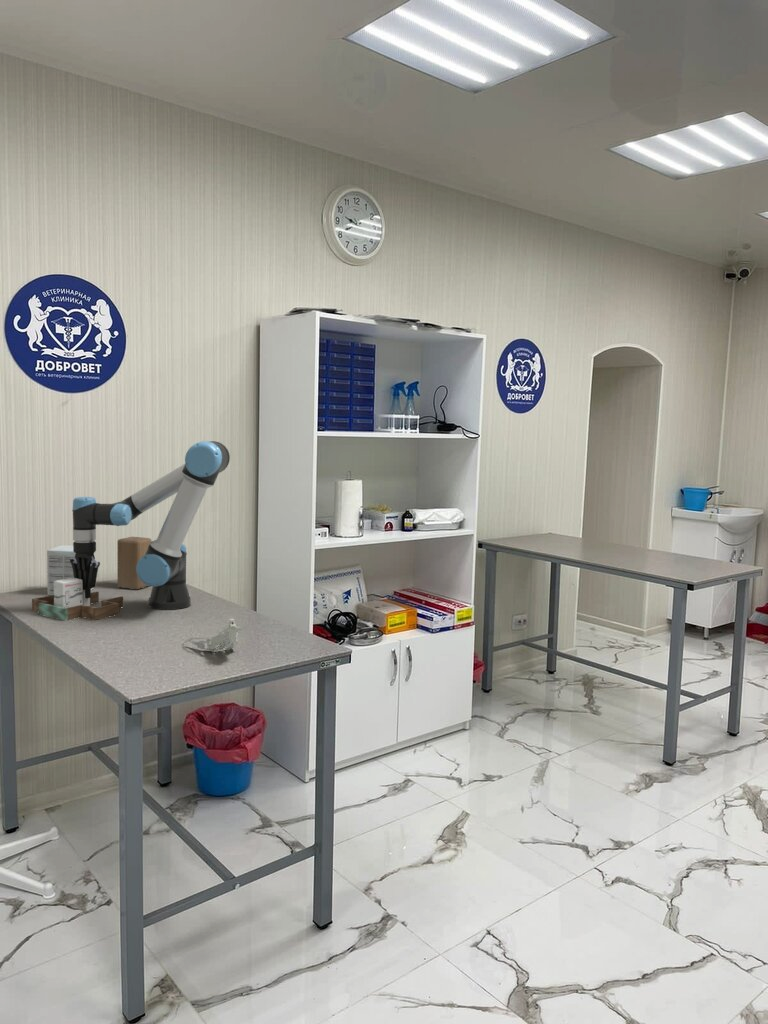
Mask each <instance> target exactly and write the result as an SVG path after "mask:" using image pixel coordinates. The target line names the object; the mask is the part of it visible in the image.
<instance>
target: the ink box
mask: <svg viewBox="0 0 768 1024" xmlns="http://www.w3.org/2000/svg"><path fill="white" fill-rule="evenodd" d="M78 605H83V580H81V579H77V578H68V579H62V580H57V581H55V582H54V606H59V607H63V608H69V607H74V606H78Z"/></svg>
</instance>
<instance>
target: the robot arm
mask: <svg viewBox="0 0 768 1024" xmlns="http://www.w3.org/2000/svg"><path fill="white" fill-rule="evenodd" d="M230 459H231V454H230V452H229V449H228V448H227V447H226V446H225V445H224V444H223V443H222V442H220V441H214V440H213V441H211V440H210V441H209V440H208V441H204V440H203V441H199V442H197V443H194V444H193V445H192V446H190V447H189V448H188V450H187V451H186V454H185V456H184V464H182V465H180V466H178V467H177V468H175V469H173V470H172V471H170V472H169V473H167V474H165V475H164V476H162V477H160V478H157V480H155V481H154V482H151V483H150V484H148V485H146V486H144V487H143V488H141V489H139V490H137V492H135V493H133V494H131V495H130V496H128V497H126V498H125V499H123V500H120V501H117V502H113V503H100V502H97V501H96V498H95V497H94V496H93V497H92V496H78V497H74V499H73V500H72V510H71V511H72V540H73V542H72V546H73V551H74V552H75V553H76V554H75V558H74V559H70V562H71V565H72V569H73V574H74V578H77V579H81V580H83V605H86V606H90V607H91V604H90V597H91V593H92V590H91V588H93V589H94V588H95V587H96V583H97V578H98V571H99V567H100V565H101V563H100V562H101V561H97V560H96V557H95V553H96V551H97V542H96V541H97V530H96V529H97V526H99V525H100V526H102V525H103V526H116V527H120V526H122V527H123V526H128V525H129V524H130V522H131V521H133V520H135V519H136V518H138V517H139V516H140V515H141V514H143V513H145V512H146V511H149V510H150V509H152V508H153V507H155V506H156V505H159V504H160V503H162V502H163V501H165V500H167V499H169V498H170V497H172V496H174V495H175V497H174V499H173V501H172V504H171V506H170V509H169V511H168V512H167V515H166V518H165V520H164V521H163V524H162V526H161V528H160V531H159V533H158V535H157V538H156V539H154V540H151V542H150V544H149V547H148V549H147V551H146V553H145V555H144V556H142V557H141V558H140V560H139V561H138V563H137V567H136V571H137V575H138V577H139V579H140V580H141V581H142V582H143V583H144V584H146V585H148V587H152V589H151V591H150V597H148V607H149V608H151V609H155V610H177V609H179V610H181V609H185V608H188V607H190V606H191V605H192V603H191V601H192V600H191V599H192V598H191V596H190V593H189V590H188V586H187V555H188V553H187V552H188V551H187V547H186V545H185V544H183V543H184V540H185V539H186V536H187V534H188V532H189V529H190V527H191V525H192V523H193V520H194V518H195V516H196V514H197V512H198V509H199V507H200V505H201V503H202V501H203V498H204V496H205V494H206V491H207V490H208V488H211V487H213V486H214V485H215V483H216V480H217V479H218V476H219V474H220V473H222V472H223V471H225V470H226V469H228V466H229V464H230Z"/></svg>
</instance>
